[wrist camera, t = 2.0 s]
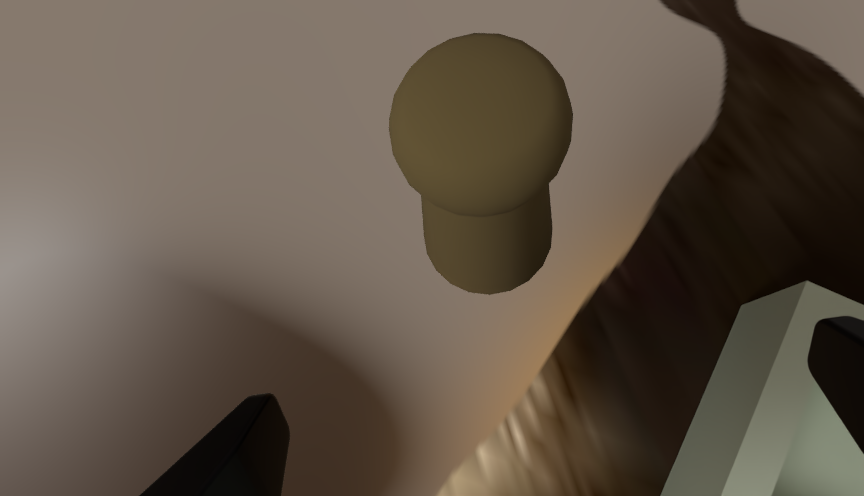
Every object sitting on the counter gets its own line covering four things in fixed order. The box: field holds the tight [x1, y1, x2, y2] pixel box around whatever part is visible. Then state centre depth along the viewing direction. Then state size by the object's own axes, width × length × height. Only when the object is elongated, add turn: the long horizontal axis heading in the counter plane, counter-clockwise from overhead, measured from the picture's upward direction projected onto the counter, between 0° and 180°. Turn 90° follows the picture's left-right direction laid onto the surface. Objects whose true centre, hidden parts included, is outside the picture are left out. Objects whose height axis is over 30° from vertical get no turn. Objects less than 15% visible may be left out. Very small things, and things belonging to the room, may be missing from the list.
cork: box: [389, 33, 573, 295], centre depth 17 cm, size 6×6×11 cm
